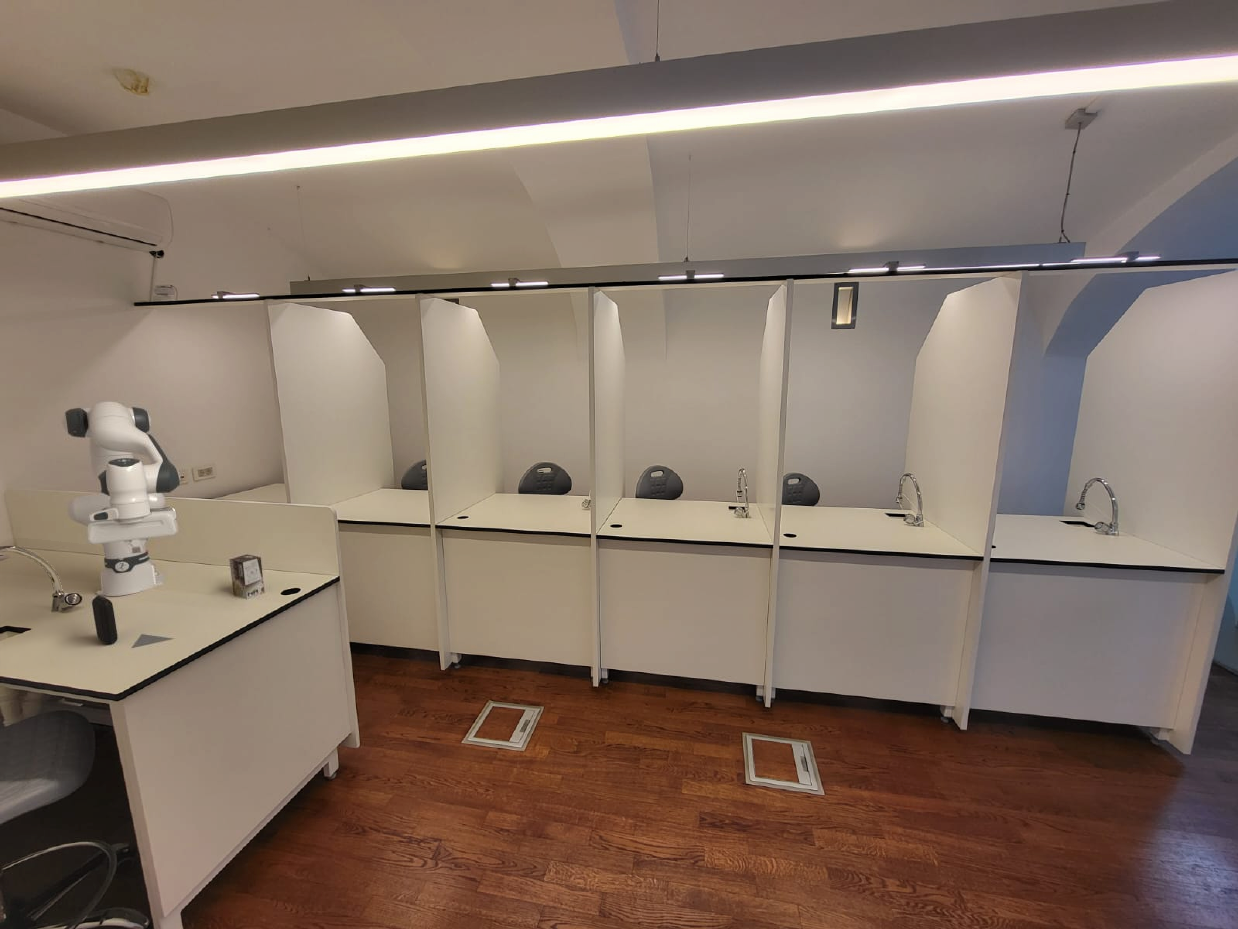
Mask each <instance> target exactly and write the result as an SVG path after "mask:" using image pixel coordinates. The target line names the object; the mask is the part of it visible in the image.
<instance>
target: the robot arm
mask: <svg viewBox="0 0 1238 929" xmlns="http://www.w3.org/2000/svg"><path fill="white" fill-rule="evenodd" d="M61 422H62V423H61V424H62V426H63V429H64V430H65V431H66V432H67V434H68V435H69V436H71V437H74V438H81V439H82V438H89V456H90V464H91V471H92V475H93V477H94V478H95V479H96V480H98V481H99V483H100V489H101V490H100V492H99V493H89V494H86V495H85V494H84V495H80V496H77V497H74V498H73V499H71V501H69V503H68V505H67V508H66V509H67V514H68V516H69V518H70V519H71V520H72V521H74V522H76V523H77V524H80V525H83V526H86V541H87V542H88V543H89V544H91V545H98V544H102V547H103V551H104V552H103V553H104V558H103V565H104V567H105V569H103V570H102V571H101V572H100V582H101V583H100V585H101V589H99V590H97V591H96V596H107V597H119V596H126V595H132V594H136V593H140V592H144V591H146V590H150V589H153V588H155V587H158V586H161V585H164V584H165V572H157V566H156V564H155V562H153V561H152V560H151V559H150V554H149V549H148V548H147V547H146V544H147V543H148V541H149V539H153V538H163V537H172V536H175V535H177V533H178V532H179V525H178V522H177V518H178V512H177V510H176V509H175V508H173V507H172V508H170V506H169V507H168V506H167V507H166V504H167V503H166V502H167V500H166V498H165V496H164V494H167V493H168V494H170V493H171V492H173V491H175V490H176V489H177V488H178V487H179V486H180V484H181V476H180V473H179V471H178V469H177V468H176V467H175V465H174V464H173V463H172V462H171V460H169V459H168V456H167V455H166V453H165V452H164V451H163V449H162V448H161V446H160V445H159V443H158V442H157V440H156V439H155V438H154V437H153V435H151V433H150V434H149V433H148V432H150V429H151V427H152V418H151V416H150V414H149V413H148V411H147V410H146V409H144V408H141V407H136V406H135V407H133V406H132V407H126V406H124V405H123V404H121V403H120V402H116V401H110V400H109V401H106V400H105V401H100V402H98V403H95V404H94V405H93V406H92V407H85V408H81V407H76V408H70V409H68V410H67V411H65V412H64V415H63V416H62V420H61ZM134 454H135V455H141V456H144V457H146V458H147V460H148V461H149V463H150V464H143V463H142V460H140V459H138V458H134ZM163 583H164V584H163ZM157 585H158V586H157ZM154 586H155V587H154Z"/></svg>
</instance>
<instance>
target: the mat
mask: <svg viewBox="0 0 1238 929" xmlns="http://www.w3.org/2000/svg"><path fill="white" fill-rule="evenodd" d="M171 640H175V638H172V637H165V636H157V635H152V634H150V635H149V634H143V633H141V634H140V636H139V637H138V638H137V640H136V641H135V643H134V644H133V645H132V646H131V648H132V649H134V648H138V647H139V648H140V647H143V646H148V645H152V644H156V643H161V642H165V641H171Z"/></svg>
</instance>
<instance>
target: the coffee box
mask: <svg viewBox="0 0 1238 929" xmlns="http://www.w3.org/2000/svg"><path fill="white" fill-rule="evenodd" d="M262 566H263V565H262V557H260V556H256V555H253V554H248V553H247V554H243V555H240V556H237V557H233V558H229V567H230V568H229V569H230V575H231V576H230V577H231V585H232V590H233V595H234V596H235V597H238V598H241V599H245V600H249V599H253V598H254V597H257V596H261V595H263V594H265V586H264V585H265V584H264V576H263V575H264V574H263V567H262Z"/></svg>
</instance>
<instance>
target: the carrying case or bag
mask: <svg viewBox="0 0 1238 929" xmlns="http://www.w3.org/2000/svg"><path fill="white" fill-rule="evenodd" d="M91 607H92V611H93V613H92V614H93V619H94V625H95V630H96V635H97V638H98V639H99V641H101V642H102V643H103V644H105V645H114V644H115V643H116V642H117V641H118V637H119V636H118V630H117V629H118V628H117V624H116V623H117V622H116V616H115V610H114V605H113V601H111V600H110V599H109V598H106V597H105V596H104V595H96V596H95V597H94V598H93V599H92V601H91Z"/></svg>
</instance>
